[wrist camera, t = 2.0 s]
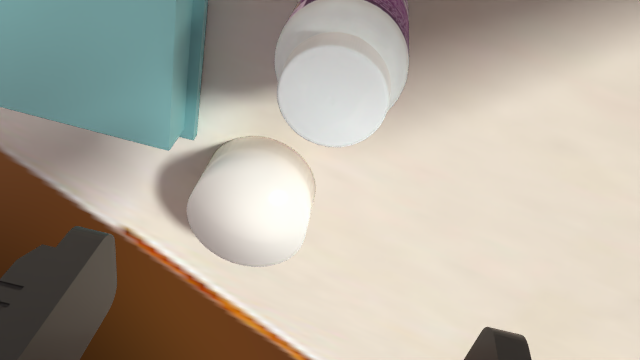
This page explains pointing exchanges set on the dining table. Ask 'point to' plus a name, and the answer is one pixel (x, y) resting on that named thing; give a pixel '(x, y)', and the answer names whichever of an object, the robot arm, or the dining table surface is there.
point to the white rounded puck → (253, 202)
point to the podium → (106, 65)
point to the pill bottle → (341, 67)
